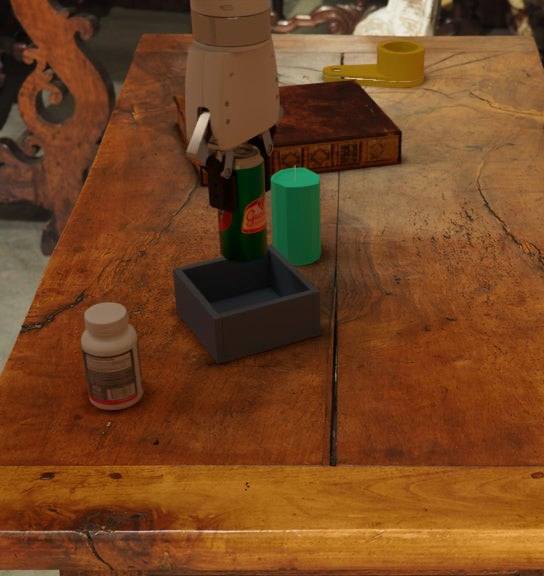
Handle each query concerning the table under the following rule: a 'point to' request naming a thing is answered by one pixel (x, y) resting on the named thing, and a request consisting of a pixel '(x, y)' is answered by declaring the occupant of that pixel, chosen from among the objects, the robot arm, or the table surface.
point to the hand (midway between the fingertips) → (240, 197)
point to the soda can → (245, 209)
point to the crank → (386, 66)
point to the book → (323, 130)
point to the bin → (246, 305)
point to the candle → (296, 215)
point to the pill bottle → (111, 357)
